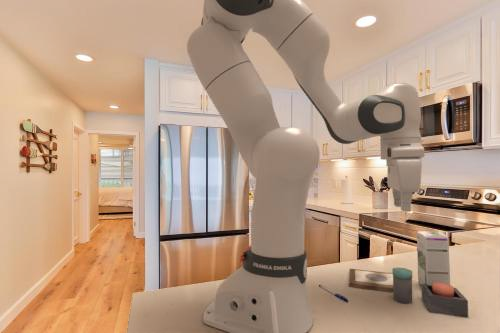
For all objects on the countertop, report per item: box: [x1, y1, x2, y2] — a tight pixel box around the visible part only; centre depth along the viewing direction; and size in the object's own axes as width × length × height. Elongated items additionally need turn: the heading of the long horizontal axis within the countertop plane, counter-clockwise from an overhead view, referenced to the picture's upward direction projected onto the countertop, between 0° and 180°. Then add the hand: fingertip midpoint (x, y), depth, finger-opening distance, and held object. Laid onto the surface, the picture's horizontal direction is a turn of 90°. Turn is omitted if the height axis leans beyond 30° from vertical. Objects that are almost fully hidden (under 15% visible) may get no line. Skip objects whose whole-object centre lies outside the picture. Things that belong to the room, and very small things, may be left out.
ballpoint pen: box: [318, 284, 349, 303], centre depth 70 cm, size 10×1×1 cm, turn 26°
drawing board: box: [349, 268, 393, 293], centre depth 78 cm, size 14×12×1 cm
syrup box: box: [416, 230, 451, 287], centre depth 73 cm, size 6×6×14 cm
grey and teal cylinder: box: [391, 267, 413, 305], centre depth 67 cm, size 4×4×7 cm
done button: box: [432, 282, 455, 297], centre depth 63 cm, size 4×4×2 cm
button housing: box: [421, 284, 469, 318], centre depth 63 cm, size 7×7×4 cm
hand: (401, 208), depth 67 cm, fingers open, 8 cm apart
